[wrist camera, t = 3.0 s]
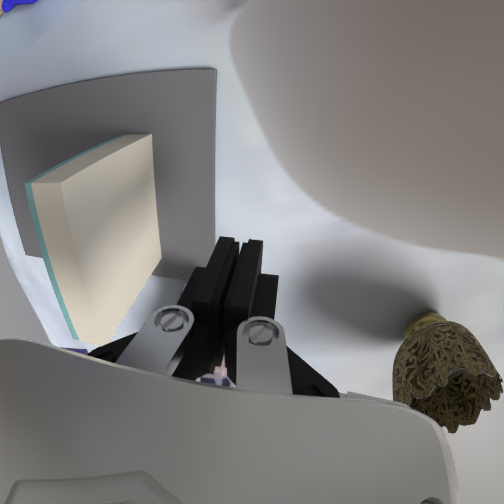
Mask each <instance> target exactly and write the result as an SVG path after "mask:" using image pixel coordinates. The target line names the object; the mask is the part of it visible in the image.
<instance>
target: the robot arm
mask: <svg viewBox="0 0 504 504" xmlns="http://www.w3.org/2000/svg"><path fill="white" fill-rule="evenodd" d="M262 251H263V241H261V240H251V239H249V241H248V243H244V242H243V244H242V247H241V251H240V254H239V242H235V239H234V238H231V237H221V236H220V237H219V239H218V242H217V244H216V246H215V248H214V251H213V253H212V255H211V257H210V259H209V262H208V264H207V266H206V267H199V266H196V267H195V269H194V270H193V272H192V274H191V276H190V279H189V281H188V283H187V285H186V287H185V289H184V291H183V293H182V295H181V297H180V299H179V301H178V303H177V305H168V306H164V307H161V308H159V309H157V310H156V311H155V312H154V313H153V314H152V315H151V316H150V318H149V319H148V320H147V321H146V323H145V324H144V325H143V327H142V328H141V329H140V330H139V332H137V333H134V334H131V335H129V336H126V337H124V338H121V339H119V340H116V341H113V342H111V343H108V344H106V345H103V346H100V347H98V348H96V349H94V350H92V351H91V352H90V353H88V351H87V349H74V348H62V347H57V346H53V345H49V344H46V343H43V342H39V341H34V340H29V339H19V338H12V339H2V340H0V504H461V500H460V499H461V498H460V490H459V484H458V478H457V473H456V468H455V464H454V460H453V456H452V452H451V449H450V446H449V443H448V440H447V438H446V436H445V434H444V432H443V430H442V429H441V427H440V426H439V425H438V423H437V422H436V421H434V420H433V419H432V418H430V417H429V416H427V415H425V414H423V413H421V412H419V411H416V410H413V409H411V408H410V407H409V406H408V405H406V404H403V403H401V402H396V401H391V400H386V399H381V398H376V397H371V396H367V395H362V394H358V393H353V392H349V391H348V392H347V394H343V393H339V392H338V390H337V389H336V388H335V387H334V386H333V385H332V384H331V383H330V382H329V381H327V380H326V379H325V378H324V377H323V376H321V375H320V374H319V373H318V372H317V371H315V370H314V369H313V368H312V367H311V366H309V365H308V364H307V363H306V362H305V361H304V360H302V359H301V358H300V357H299V356H298V355H297V354H295V353H294V352H293V351H292V350H291V349H290V348H289V347H287V346H286V340H285V333H284V330H283V327H282V326H281V325H280V324H279V323H278V322H277V321H275V320H274V316H275V306H276V297H277V288H278V278H279V275H269V274H261V265H262ZM223 357H224V359H225V368H227V377H228V378H229V379H230V380H231V381H232V382H233V383H234V384H235V385H236V388H235V387H228V386H222V385H215V384H209V383H204V382H200V381H201V380H200V377H202V376H204V375H206V374H213V375H214V371H215V367H216V366H217V367H221V364H222V361H223Z"/></svg>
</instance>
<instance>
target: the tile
mask: <svg viewBox="0 0 504 504" xmlns="http://www.w3.org/2000/svg"><path fill="white" fill-rule="evenodd" d="M24 184H25V189H26V194H27V199H28V203H29V208H30V212H31V216H32V220H33V224H34V228H35V232H36V235H37V239H38V243H39V246H40V249H41V253H42V256H43V259H44V263H45V266H46V269H47V272H48V275H49V278H50V281H51V284H52V286H53V289H54V292H55V295H56V297H57V300H58V303H59V305H60V308H61V310H62V313H63V315H64V318H65V320H66V323H67V325H68V327H69V330H70V332H71V334H72V337H73V339H76V340H80V341H83V342H86V343H90V344H94V345H97V346H103V345H106V344H108V343H109V342H110V340H111V339H112V337H113V335H114V333H115V332H116V330H117V328H118V327H119V325H120V323H121V322H122V320H123V318H124V317H125V315H126V313H127V312H128V310H129V309H130V307H131V305H132V304H133V302H134V301H135V299H136V297H137V296H138V294H139V293H140V291H141V289H142V288H143V286H144V285H145V283H146V282H147V280H148V278H149V277H150V275H151V274H152V272H153V271H154V269H155V268H156V266H157V265H158V263H159V261H160V260H161V258H162V255H161V247H160V238H159V228H158V218H157V207H156V195H155V182H154V167H153V148H152V134H128V135H119V136H117V137H115V138H112V139H110V140H108V141H106V142H103V143H101V144H99V145H97V146H95V147H92V148H90V149H88V150H86V151H84V152H82V153H80V154H78V155H76V156H74V157H72V158H70V159H68V160H66V161H64V162H62V163H60V164H58V165H56V166H54V167H53V168H51V169H49V170H47V171H45V172H43V173H42V174H40V175H38V176H36V177H34V178H33V179H31V180H29V181H28V182H26V183H24Z"/></svg>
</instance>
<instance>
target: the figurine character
mask: <svg viewBox="0 0 504 504" xmlns="http://www.w3.org/2000/svg"><path fill="white" fill-rule="evenodd" d="M35 1H37V0H0V16H1V15H2V14H3V13H4V12H8V11H10V10H11V9H12V8H13V7H14V5H22V4H32V3H34V2H35Z"/></svg>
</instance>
